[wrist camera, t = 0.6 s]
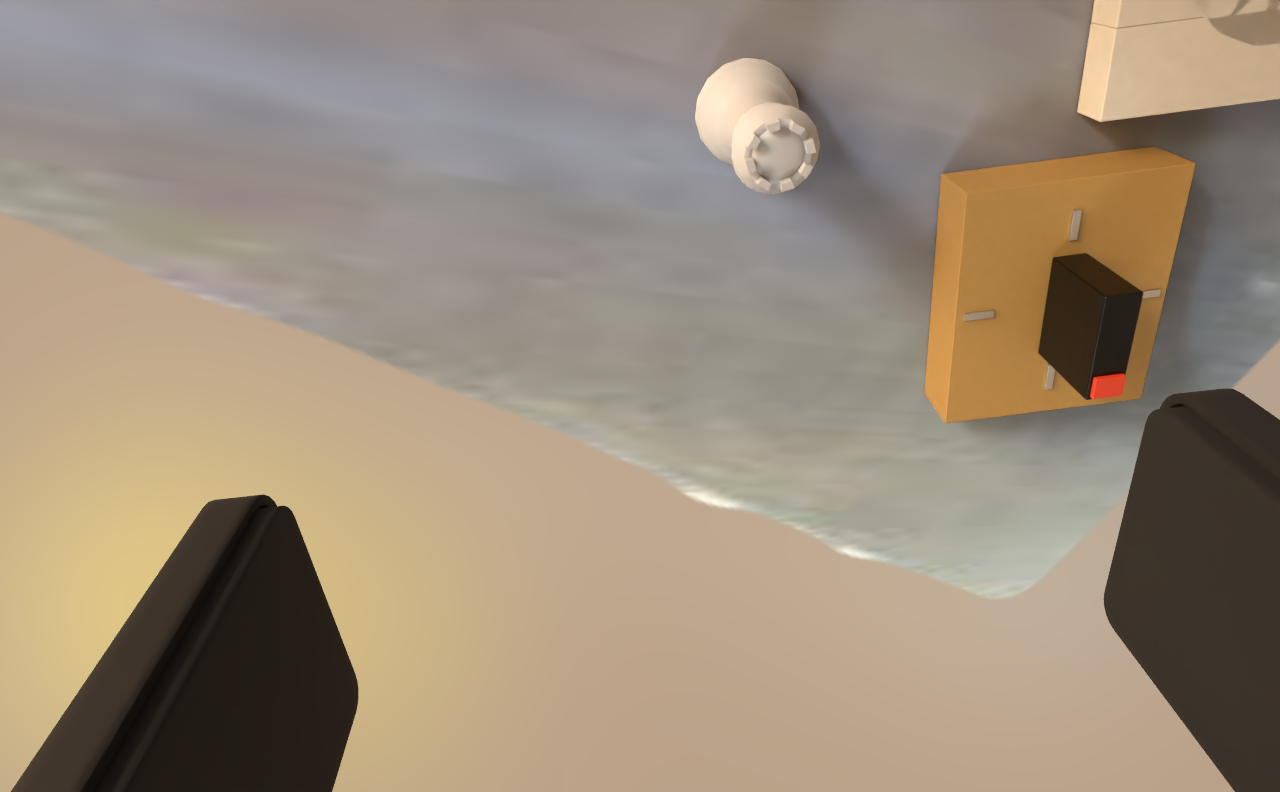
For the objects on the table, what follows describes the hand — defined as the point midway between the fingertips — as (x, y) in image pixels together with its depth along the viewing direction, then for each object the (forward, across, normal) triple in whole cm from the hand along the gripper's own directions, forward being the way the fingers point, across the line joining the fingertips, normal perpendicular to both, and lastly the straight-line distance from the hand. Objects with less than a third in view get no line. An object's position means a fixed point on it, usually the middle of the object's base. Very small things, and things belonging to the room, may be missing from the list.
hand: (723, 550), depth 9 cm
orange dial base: (+31, -19, +11) cm, 38 cm away
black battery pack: (+28, -19, +11) cm, 35 cm away
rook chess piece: (+31, -5, +1) cm, 31 cm away
